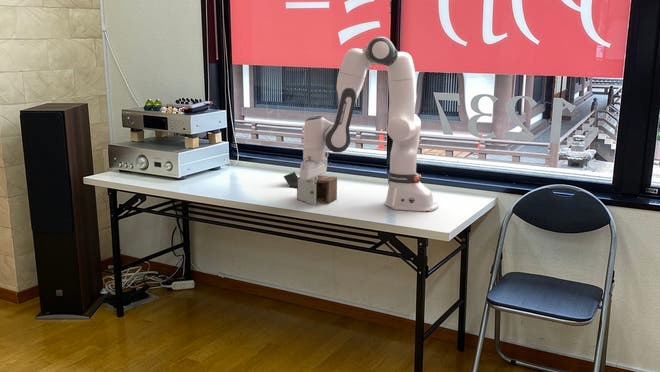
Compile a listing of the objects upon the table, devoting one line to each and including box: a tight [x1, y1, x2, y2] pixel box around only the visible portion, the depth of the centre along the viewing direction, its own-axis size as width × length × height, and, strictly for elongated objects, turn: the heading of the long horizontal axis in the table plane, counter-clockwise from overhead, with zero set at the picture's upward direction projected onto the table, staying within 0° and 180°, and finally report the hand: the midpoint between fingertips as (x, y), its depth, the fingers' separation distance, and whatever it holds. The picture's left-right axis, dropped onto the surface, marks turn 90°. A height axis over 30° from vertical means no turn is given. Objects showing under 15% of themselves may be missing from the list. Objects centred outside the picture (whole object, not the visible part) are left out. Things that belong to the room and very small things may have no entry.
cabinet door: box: [298, 179, 317, 206], centre depth 270 cm, size 12×2×9 cm, turn 37°
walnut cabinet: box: [296, 175, 338, 205], centre depth 277 cm, size 15×9×10 cm, turn 67°
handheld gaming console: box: [283, 171, 299, 189], centre depth 305 cm, size 12×7×10 cm
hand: (312, 187), depth 270 cm, fingers closed
